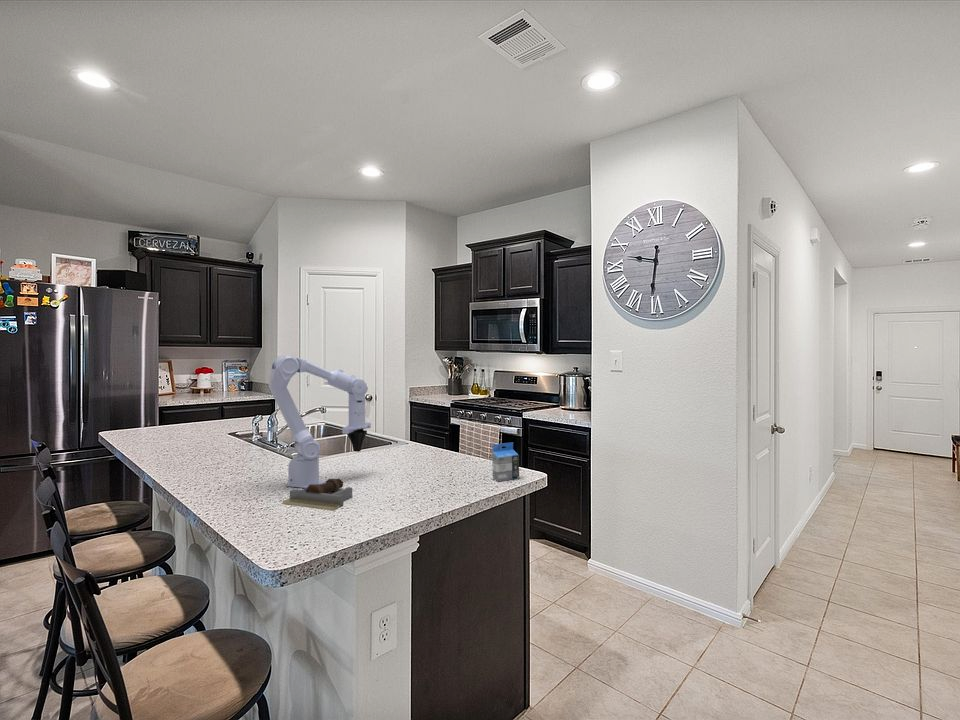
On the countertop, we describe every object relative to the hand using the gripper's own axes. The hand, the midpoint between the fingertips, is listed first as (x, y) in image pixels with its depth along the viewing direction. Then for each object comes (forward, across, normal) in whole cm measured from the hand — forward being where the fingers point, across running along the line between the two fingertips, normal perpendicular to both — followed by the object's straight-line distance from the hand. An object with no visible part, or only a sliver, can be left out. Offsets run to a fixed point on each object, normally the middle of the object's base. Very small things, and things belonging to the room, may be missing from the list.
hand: (357, 451), depth 178 cm
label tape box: (+10, +16, -50) cm, 53 cm away
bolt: (+10, -21, -4) cm, 24 cm away
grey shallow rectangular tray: (+9, -27, -6) cm, 29 cm away
